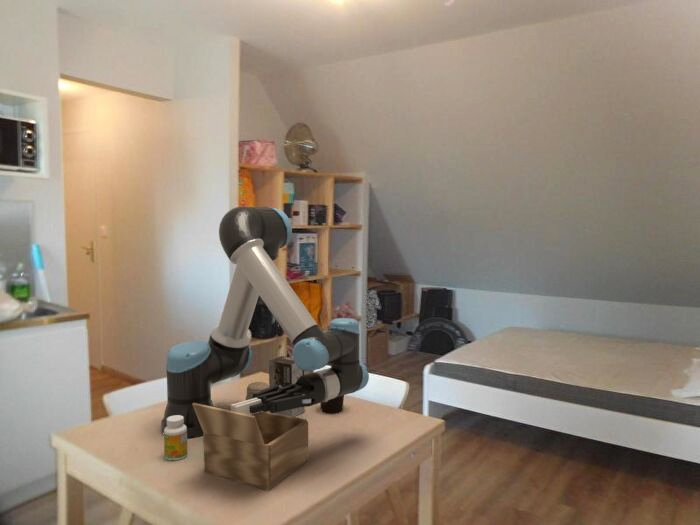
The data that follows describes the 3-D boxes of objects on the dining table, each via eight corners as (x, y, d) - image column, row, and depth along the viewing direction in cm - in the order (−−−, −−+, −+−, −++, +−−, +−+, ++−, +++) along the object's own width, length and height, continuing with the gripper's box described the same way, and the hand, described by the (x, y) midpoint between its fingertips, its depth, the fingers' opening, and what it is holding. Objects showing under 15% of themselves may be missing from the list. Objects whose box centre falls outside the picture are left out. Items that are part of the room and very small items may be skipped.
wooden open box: (202, 471, 123) (201, 429, 122) (247, 444, 137) (247, 407, 137) (270, 491, 114) (269, 446, 113) (310, 460, 129) (310, 420, 128)
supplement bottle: (159, 459, 129) (158, 420, 128) (174, 450, 134) (173, 412, 133) (177, 462, 127) (176, 423, 126) (192, 453, 132) (191, 415, 132)
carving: (265, 431, 146) (265, 389, 145) (240, 428, 148) (240, 386, 147) (274, 423, 152) (274, 382, 151) (250, 420, 154) (250, 380, 153)
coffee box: (305, 411, 161) (305, 359, 160) (292, 418, 156) (291, 364, 155) (282, 405, 166) (281, 355, 165) (268, 412, 161) (268, 359, 160)
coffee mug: (342, 416, 157) (342, 383, 157) (314, 414, 159) (314, 381, 158) (350, 403, 169) (350, 372, 168) (324, 401, 171) (324, 370, 170)
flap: (204, 429, 121) (202, 431, 121) (193, 402, 118) (192, 404, 117) (264, 444, 113) (263, 446, 113) (255, 416, 110) (253, 417, 110)
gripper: (335, 409, 126) (251, 437, 110) (299, 396, 136) (217, 420, 120) (335, 378, 126) (251, 402, 109) (299, 367, 135) (216, 388, 119)
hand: (233, 411), depth 114 cm, fingers closed
